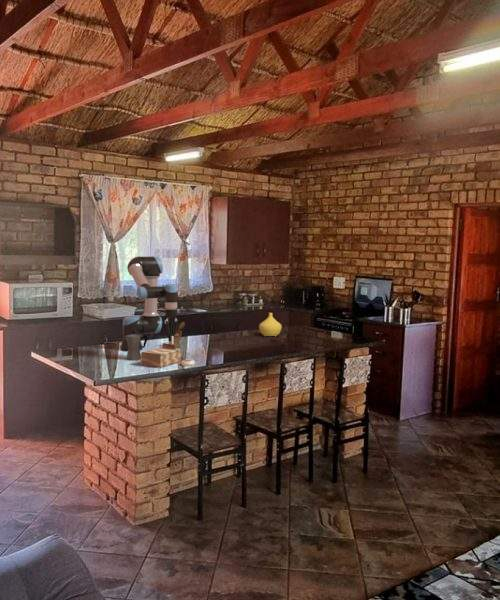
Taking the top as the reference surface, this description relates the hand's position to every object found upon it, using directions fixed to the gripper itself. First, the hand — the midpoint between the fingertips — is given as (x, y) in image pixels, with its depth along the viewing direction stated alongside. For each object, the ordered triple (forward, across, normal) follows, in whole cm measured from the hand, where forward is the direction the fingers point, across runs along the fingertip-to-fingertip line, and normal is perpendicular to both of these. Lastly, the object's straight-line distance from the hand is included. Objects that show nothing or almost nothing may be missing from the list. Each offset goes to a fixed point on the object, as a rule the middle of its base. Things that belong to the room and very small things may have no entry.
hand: (171, 346), depth 350 cm
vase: (+10, -126, +9) cm, 127 cm away
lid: (+2, +10, 0) cm, 10 cm away
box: (+9, +10, 0) cm, 14 cm away
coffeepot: (+10, +8, -22) cm, 25 cm away
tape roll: (+10, +5, +16) cm, 19 cm away
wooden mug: (+10, -44, -26) cm, 52 cm away
